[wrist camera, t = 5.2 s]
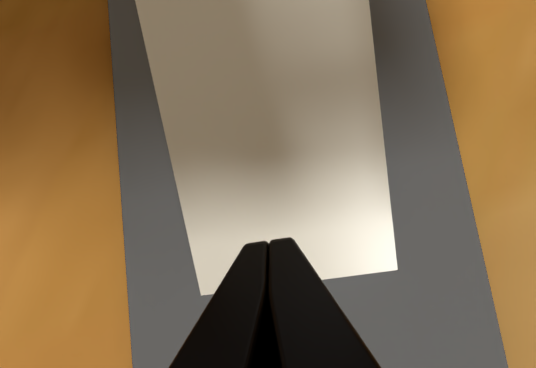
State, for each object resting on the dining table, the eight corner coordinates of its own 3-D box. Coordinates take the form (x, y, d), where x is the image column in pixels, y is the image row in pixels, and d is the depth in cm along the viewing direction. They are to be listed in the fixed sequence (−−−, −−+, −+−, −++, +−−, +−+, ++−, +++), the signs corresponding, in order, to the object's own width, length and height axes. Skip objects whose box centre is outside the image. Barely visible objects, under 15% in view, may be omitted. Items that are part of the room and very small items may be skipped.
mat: (514, 416, 13) (520, 421, 13) (143, 453, 14) (138, 458, 14) (352, -312, 19) (352, -324, 19) (94, -248, 20) (90, -258, 20)
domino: (397, 269, 13) (347, -202, 10) (200, 295, 13) (102, -145, 11) (385, 249, 14) (339, -164, 12) (210, 272, 15) (126, -117, 12)
